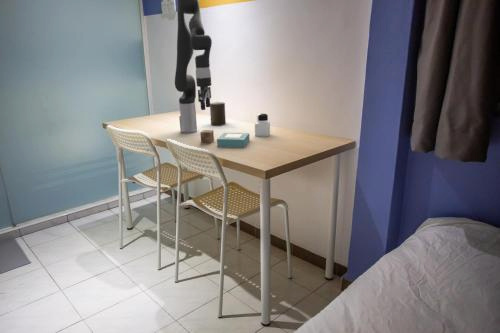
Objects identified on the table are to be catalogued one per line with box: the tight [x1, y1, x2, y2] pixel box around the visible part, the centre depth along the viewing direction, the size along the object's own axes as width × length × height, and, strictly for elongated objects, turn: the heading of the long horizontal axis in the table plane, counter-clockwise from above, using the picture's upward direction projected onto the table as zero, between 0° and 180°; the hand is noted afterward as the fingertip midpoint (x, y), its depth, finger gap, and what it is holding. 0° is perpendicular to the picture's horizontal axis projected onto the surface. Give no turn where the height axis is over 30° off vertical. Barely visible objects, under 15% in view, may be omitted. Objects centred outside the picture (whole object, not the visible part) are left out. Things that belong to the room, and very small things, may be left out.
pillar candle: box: [209, 101, 227, 126], centre depth 242 cm, size 10×10×15 cm
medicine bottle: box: [254, 113, 271, 138], centre depth 210 cm, size 7×7×12 cm
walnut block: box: [199, 129, 215, 144], centre depth 199 cm, size 6×6×6 cm
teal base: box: [216, 132, 250, 148], centre depth 195 cm, size 14×14×4 cm
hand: (205, 108), depth 194 cm, fingers open, 8 cm apart
